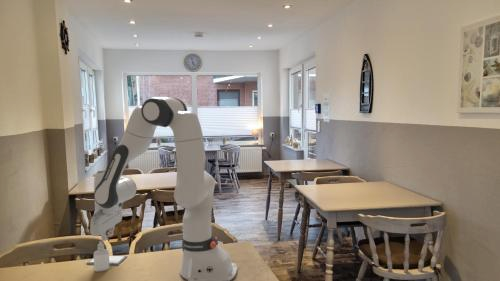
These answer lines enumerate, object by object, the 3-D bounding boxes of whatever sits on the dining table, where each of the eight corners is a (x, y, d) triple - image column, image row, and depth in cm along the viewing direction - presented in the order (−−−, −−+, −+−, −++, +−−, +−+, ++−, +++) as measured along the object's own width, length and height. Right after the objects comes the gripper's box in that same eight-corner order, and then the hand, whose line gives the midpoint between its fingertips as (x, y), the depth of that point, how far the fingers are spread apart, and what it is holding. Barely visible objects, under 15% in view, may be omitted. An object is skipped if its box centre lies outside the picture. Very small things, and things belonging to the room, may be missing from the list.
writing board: (127, 257, 150) (127, 256, 150) (118, 265, 142) (118, 264, 142) (97, 256, 152) (97, 255, 151) (86, 264, 144) (86, 263, 144)
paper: (124, 256, 149) (124, 256, 149) (117, 263, 143) (117, 262, 143) (98, 255, 151) (97, 255, 151) (89, 262, 144) (89, 261, 144)
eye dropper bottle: (105, 272, 136) (104, 243, 135) (92, 271, 137) (90, 242, 136) (111, 267, 140) (109, 239, 139) (98, 266, 141) (97, 238, 140)
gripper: (100, 214, 136) (101, 248, 137) (124, 201, 156) (125, 230, 157) (85, 214, 136) (86, 247, 138) (111, 200, 157) (112, 230, 158)
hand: (107, 238), depth 148 cm, fingers open, 3 cm apart
